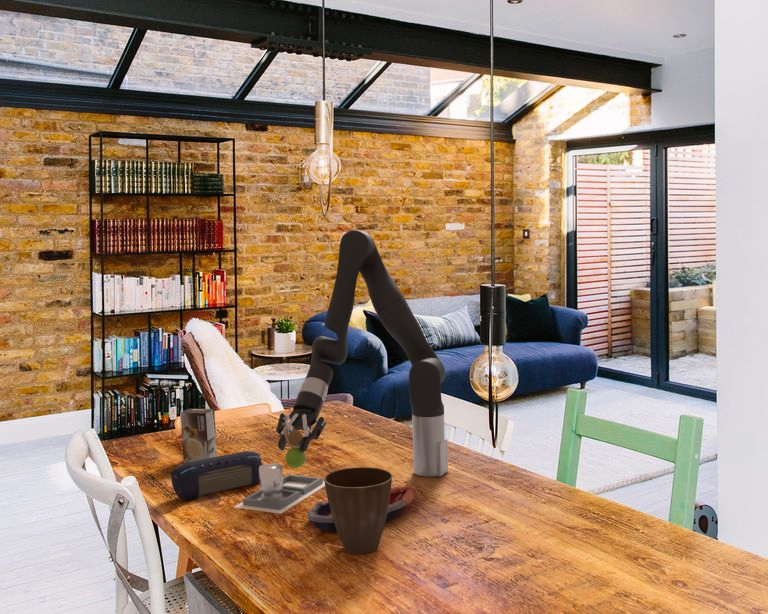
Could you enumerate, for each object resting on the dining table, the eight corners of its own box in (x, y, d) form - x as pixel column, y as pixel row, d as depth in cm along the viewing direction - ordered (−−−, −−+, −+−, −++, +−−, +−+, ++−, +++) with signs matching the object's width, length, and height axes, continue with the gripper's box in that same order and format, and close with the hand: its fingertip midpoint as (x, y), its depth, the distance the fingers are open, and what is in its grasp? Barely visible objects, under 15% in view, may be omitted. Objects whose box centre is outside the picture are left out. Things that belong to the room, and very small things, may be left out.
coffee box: (218, 458, 245) (215, 408, 243) (209, 464, 238) (206, 413, 237) (192, 457, 247) (189, 408, 245) (182, 463, 241) (179, 412, 239)
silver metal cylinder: (288, 498, 199) (286, 464, 198) (275, 506, 194) (274, 471, 193) (268, 496, 202) (267, 462, 201) (255, 503, 196) (254, 469, 195)
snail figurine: (291, 462, 212) (289, 420, 211) (310, 465, 209) (308, 422, 208) (279, 468, 208) (277, 424, 206) (298, 471, 204) (296, 427, 203)
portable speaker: (181, 507, 200) (179, 470, 199) (169, 497, 208) (166, 461, 207) (269, 487, 214) (268, 452, 213) (254, 479, 222) (253, 445, 221)
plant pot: (312, 548, 170) (310, 478, 168) (362, 529, 180) (360, 462, 179) (358, 567, 159) (356, 492, 158) (408, 546, 170) (406, 475, 168)
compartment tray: (331, 487, 212) (330, 476, 212) (281, 519, 189) (280, 507, 188) (287, 482, 218) (287, 471, 218) (233, 512, 194) (233, 501, 194)
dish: (294, 523, 186) (293, 503, 186) (399, 497, 203) (398, 478, 203) (326, 543, 173) (325, 522, 173) (434, 513, 190) (434, 493, 190)
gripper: (283, 388, 216) (262, 440, 206) (329, 391, 210) (309, 445, 201) (294, 403, 221) (273, 454, 212) (338, 406, 216) (319, 459, 206)
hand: (290, 449), depth 206 cm, fingers closed on snail figurine, 5 cm apart
